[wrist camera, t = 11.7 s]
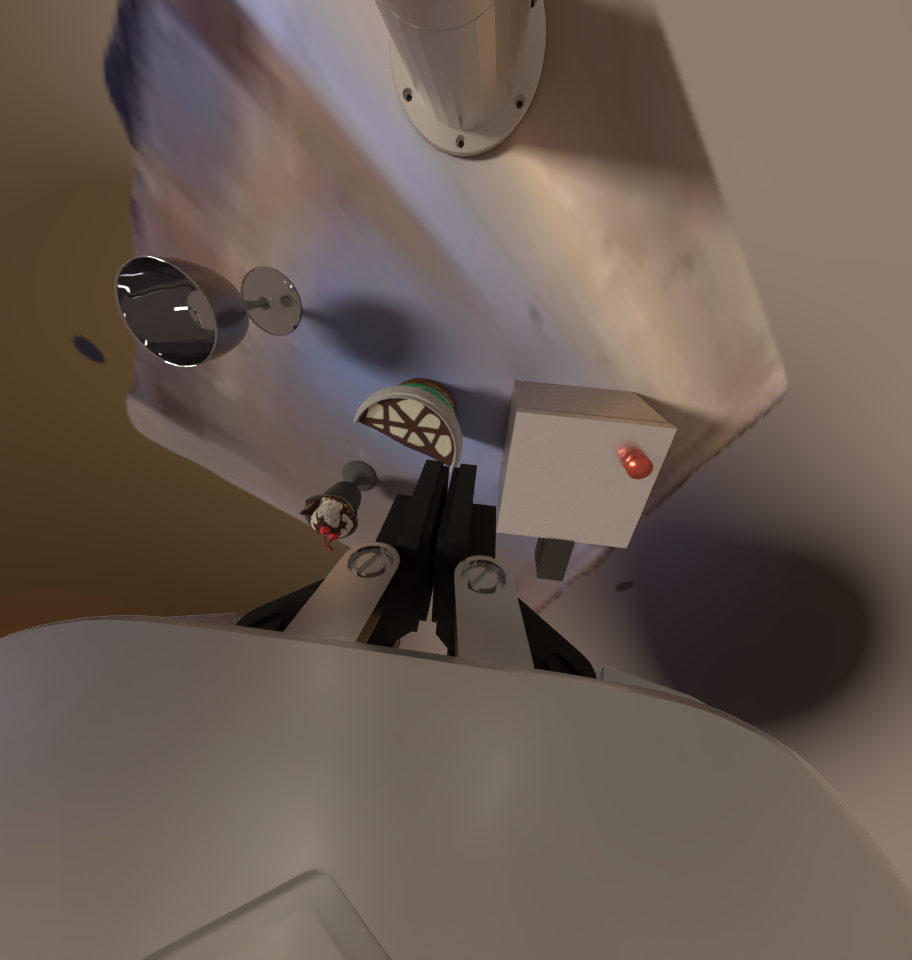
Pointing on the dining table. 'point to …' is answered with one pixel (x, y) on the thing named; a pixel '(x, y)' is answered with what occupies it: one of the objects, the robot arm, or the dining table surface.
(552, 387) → the white hinged box
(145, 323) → the wine glass
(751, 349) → the dining table surface
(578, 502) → the lid
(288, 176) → the dining table surface
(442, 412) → the food container
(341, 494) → the sundae
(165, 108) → the dining table surface
